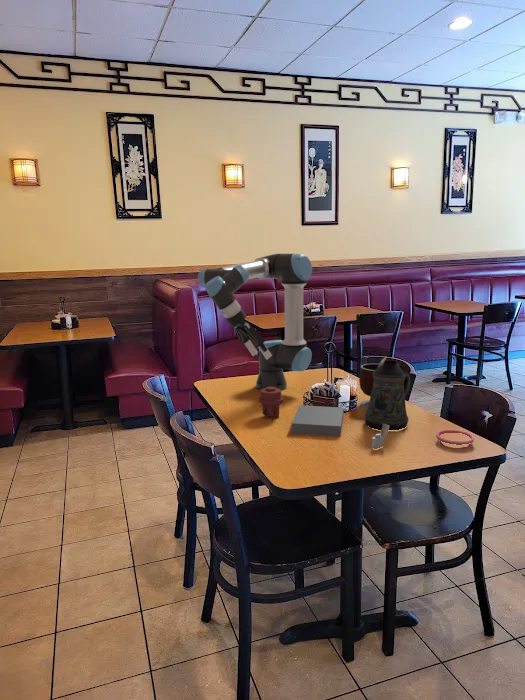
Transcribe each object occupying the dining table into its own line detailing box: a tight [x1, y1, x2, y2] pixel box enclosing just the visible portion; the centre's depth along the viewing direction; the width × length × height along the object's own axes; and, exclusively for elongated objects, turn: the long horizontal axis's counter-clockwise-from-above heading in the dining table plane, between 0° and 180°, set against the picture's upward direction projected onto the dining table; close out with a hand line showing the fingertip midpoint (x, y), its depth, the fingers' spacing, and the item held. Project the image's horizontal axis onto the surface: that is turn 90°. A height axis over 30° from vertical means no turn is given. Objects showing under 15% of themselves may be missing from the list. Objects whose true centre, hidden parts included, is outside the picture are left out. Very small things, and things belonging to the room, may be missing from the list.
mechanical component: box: [258, 387, 284, 420], centre depth 208 cm, size 12×10×10 cm
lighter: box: [371, 424, 390, 449], centre depth 176 cm, size 7×2×8 cm, turn 127°
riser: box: [291, 404, 345, 438], centre depth 199 cm, size 22×18×4 cm
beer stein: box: [364, 360, 411, 430], centre depth 198 cm, size 16×19×25 cm
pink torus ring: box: [435, 429, 475, 445], centre depth 180 cm, size 12×12×3 cm
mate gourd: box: [358, 356, 387, 409], centre depth 222 cm, size 16×14×20 cm
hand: (262, 355), depth 208 cm, fingers open, 13 cm apart
